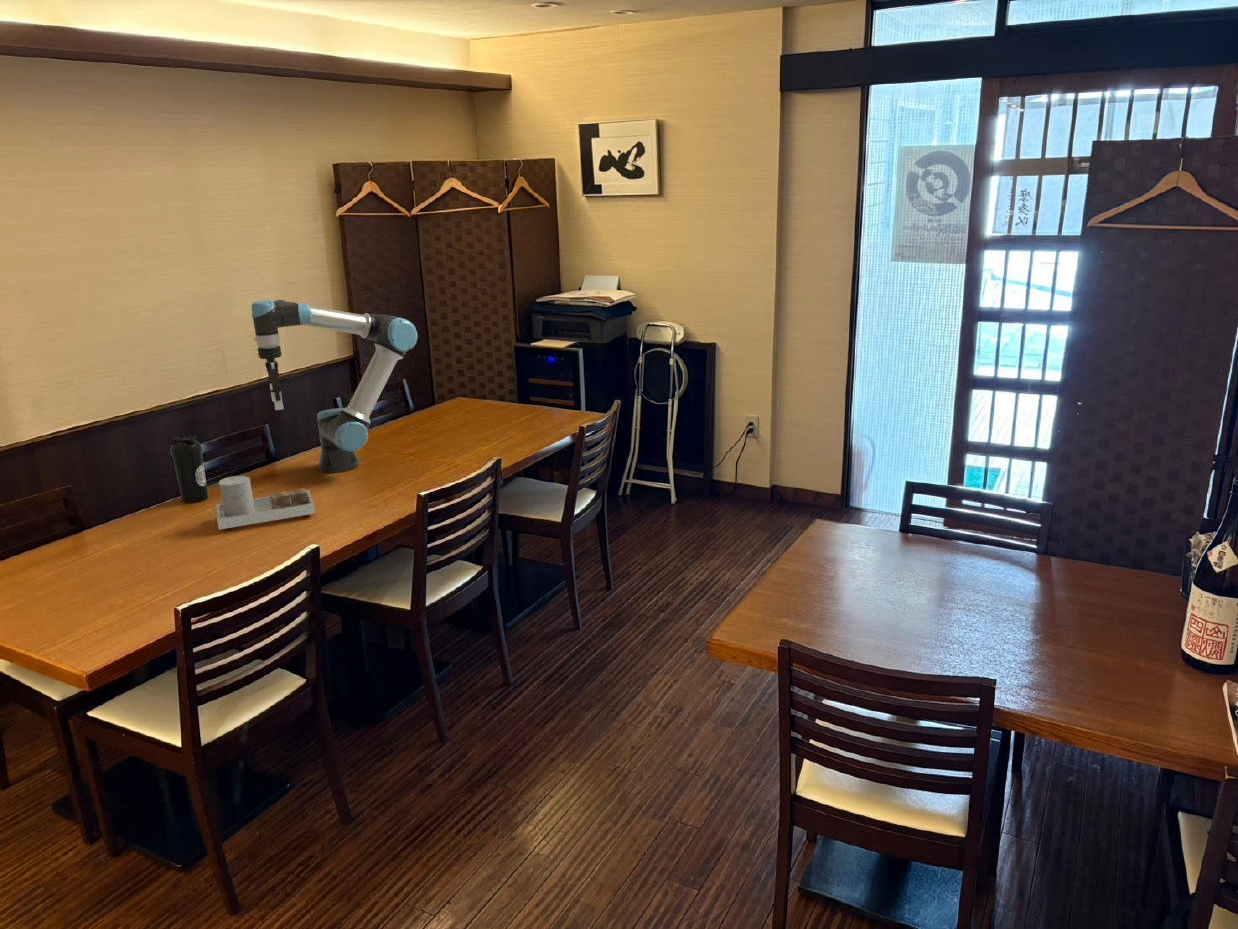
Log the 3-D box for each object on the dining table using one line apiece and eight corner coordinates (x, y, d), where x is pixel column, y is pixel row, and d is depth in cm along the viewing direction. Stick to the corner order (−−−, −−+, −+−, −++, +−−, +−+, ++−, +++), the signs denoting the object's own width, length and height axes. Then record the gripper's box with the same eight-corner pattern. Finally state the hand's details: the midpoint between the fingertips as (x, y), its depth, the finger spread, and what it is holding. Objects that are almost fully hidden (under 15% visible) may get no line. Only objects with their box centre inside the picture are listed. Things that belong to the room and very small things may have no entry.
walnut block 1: (287, 504, 307) (285, 491, 306) (291, 508, 303) (289, 495, 302) (272, 508, 305) (269, 494, 303) (276, 512, 301) (273, 498, 299)
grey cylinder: (260, 510, 303) (255, 475, 299) (247, 520, 294) (241, 485, 290) (233, 509, 304) (228, 475, 300) (219, 520, 295) (213, 485, 291)
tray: (310, 503, 315) (308, 489, 313) (316, 517, 302) (314, 503, 300) (218, 518, 303) (215, 504, 302) (219, 533, 290) (217, 519, 289)
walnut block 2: (307, 501, 309) (305, 488, 308) (308, 506, 305) (306, 492, 303) (291, 504, 307) (289, 490, 306) (293, 509, 303) (291, 495, 301)
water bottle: (203, 504, 317) (191, 441, 310) (174, 504, 317) (162, 442, 310) (215, 494, 327) (204, 433, 319) (188, 494, 327) (176, 434, 320)
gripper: (255, 341, 323) (264, 398, 329) (259, 353, 301) (269, 414, 308) (277, 339, 325) (285, 396, 332) (283, 351, 304) (292, 411, 311)
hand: (277, 405), depth 320 cm, fingers open, 13 cm apart
